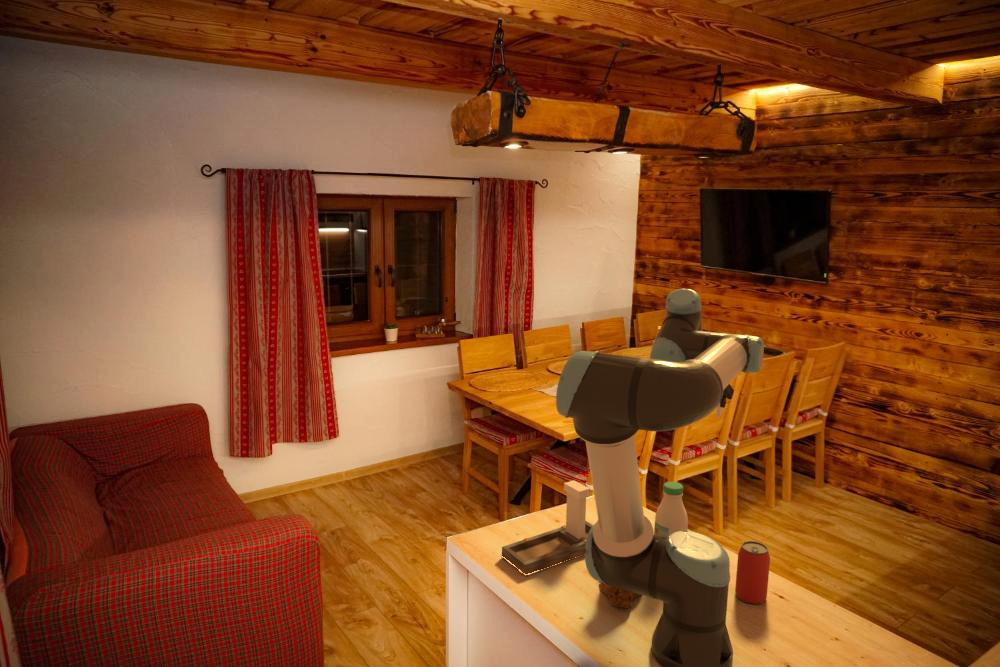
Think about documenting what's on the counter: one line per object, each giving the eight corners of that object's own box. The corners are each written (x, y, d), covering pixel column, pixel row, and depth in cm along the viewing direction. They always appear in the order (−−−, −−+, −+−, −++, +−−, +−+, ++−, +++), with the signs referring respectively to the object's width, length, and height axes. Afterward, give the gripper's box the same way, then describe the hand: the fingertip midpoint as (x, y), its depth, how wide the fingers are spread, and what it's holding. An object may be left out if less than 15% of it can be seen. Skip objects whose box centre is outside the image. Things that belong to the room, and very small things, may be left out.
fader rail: (583, 529, 181) (583, 518, 181) (609, 545, 173) (609, 534, 173) (501, 558, 167) (501, 546, 167) (525, 576, 159) (525, 564, 159)
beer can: (735, 602, 150) (739, 552, 147) (734, 586, 156) (738, 537, 153) (767, 607, 148) (772, 556, 145) (765, 591, 154) (769, 542, 151)
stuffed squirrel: (645, 583, 157) (648, 530, 154) (640, 619, 144) (643, 562, 141) (601, 576, 160) (603, 524, 157) (593, 611, 146) (595, 555, 144)
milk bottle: (682, 554, 169) (687, 479, 165) (687, 571, 162) (693, 492, 158) (650, 553, 170) (654, 477, 166) (654, 569, 162) (658, 491, 158)
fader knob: (574, 531, 177) (575, 479, 174) (591, 542, 172) (593, 488, 169) (559, 536, 175) (560, 483, 172) (575, 547, 169) (577, 493, 166)
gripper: (746, 343, 156) (746, 407, 169) (640, 330, 168) (648, 390, 181) (739, 366, 151) (740, 429, 165) (630, 351, 163) (639, 411, 176)
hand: (692, 409), depth 173 cm, fingers open, 13 cm apart
